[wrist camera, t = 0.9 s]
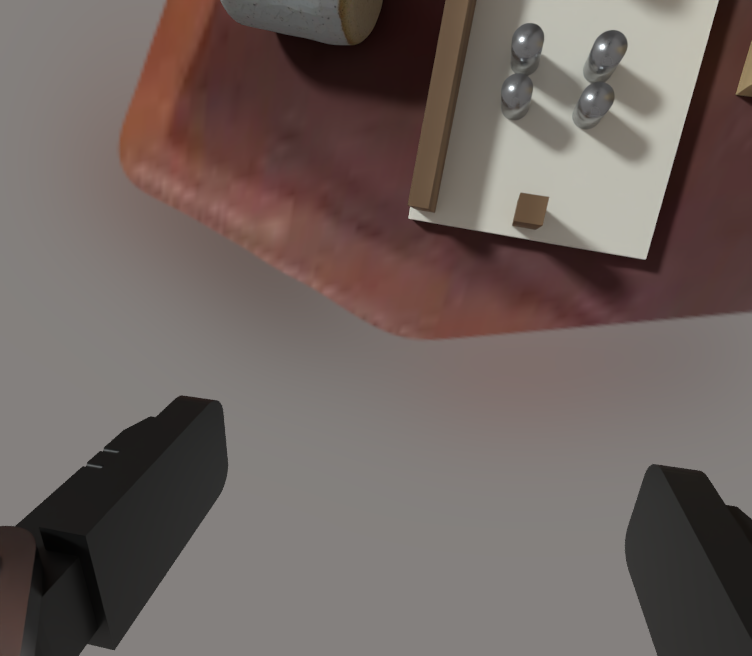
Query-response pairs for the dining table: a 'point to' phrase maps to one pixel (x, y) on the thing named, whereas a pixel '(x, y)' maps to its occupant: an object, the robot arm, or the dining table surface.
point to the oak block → (746, 77)
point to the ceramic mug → (309, 18)
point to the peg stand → (556, 127)
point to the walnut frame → (442, 114)
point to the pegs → (595, 71)
